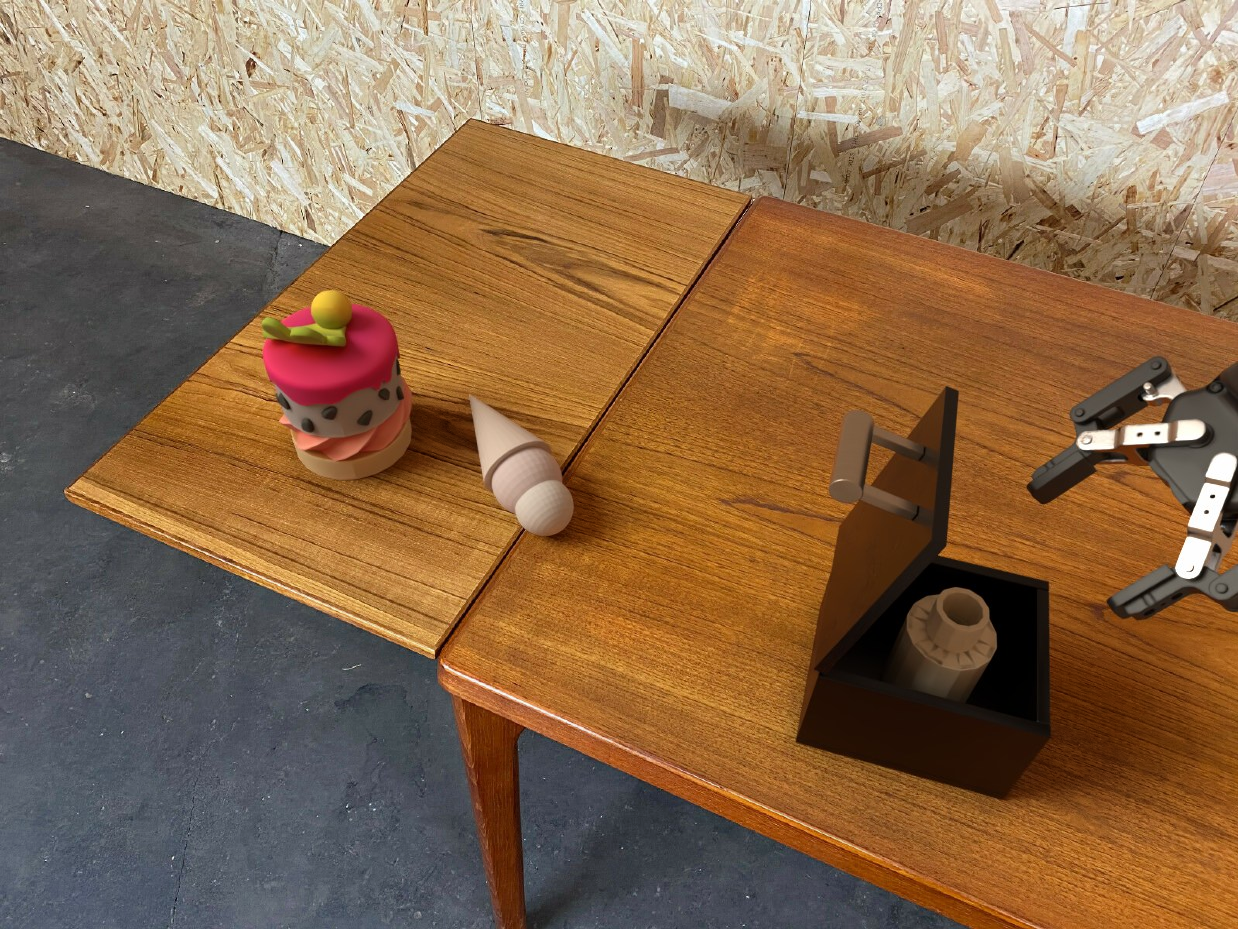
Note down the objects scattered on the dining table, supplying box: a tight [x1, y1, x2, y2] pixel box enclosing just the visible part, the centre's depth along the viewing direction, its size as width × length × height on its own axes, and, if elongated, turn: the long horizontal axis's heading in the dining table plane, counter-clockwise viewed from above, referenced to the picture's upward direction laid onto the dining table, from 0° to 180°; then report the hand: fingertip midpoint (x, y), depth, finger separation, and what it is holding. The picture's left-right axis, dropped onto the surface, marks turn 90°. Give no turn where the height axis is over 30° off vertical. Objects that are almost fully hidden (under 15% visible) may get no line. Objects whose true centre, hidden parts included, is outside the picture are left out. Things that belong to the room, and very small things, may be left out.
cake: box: [261, 289, 413, 481], centre depth 77 cm, size 10×11×15 cm
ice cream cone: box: [468, 393, 575, 537], centre depth 77 cm, size 6×6×15 cm
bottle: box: [881, 587, 997, 703], centre depth 63 cm, size 6×6×10 cm
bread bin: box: [795, 554, 1052, 800], centre depth 64 cm, size 14×12×9 cm
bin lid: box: [814, 385, 960, 674], centre depth 56 cm, size 14×12×6 cm
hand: (1072, 551), depth 56 cm, fingers open, 8 cm apart
